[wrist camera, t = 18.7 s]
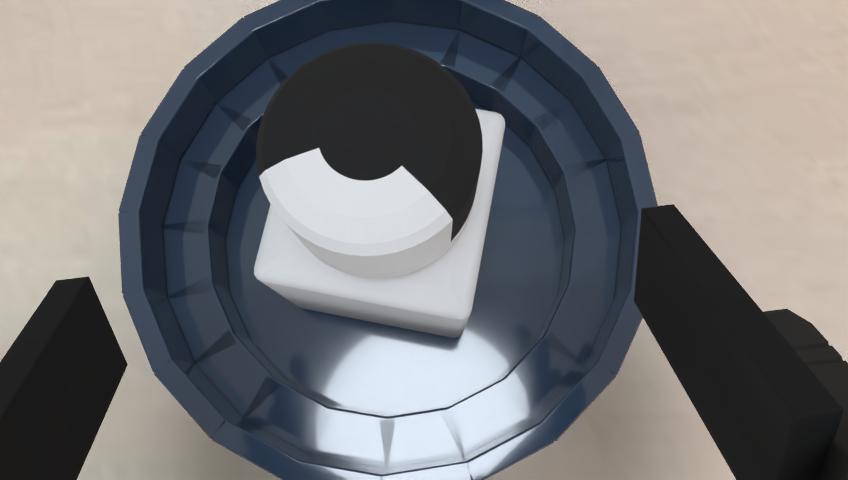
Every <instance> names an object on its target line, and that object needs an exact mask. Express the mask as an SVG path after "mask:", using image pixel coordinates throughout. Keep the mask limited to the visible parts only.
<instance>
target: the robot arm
mask: <svg viewBox="0 0 848 480" xmlns="http://www.w3.org/2000/svg"><path fill="white" fill-rule="evenodd" d="M634 302H635V304H636V306H637V307H638V309H639V311H640V313H641V314H642V316H643V318H644V320H645V321H646V323H647V325H648V327H649V328H650V330H651V332H652V334H653V335H654V337H655V339H656V340H657V342H658V344H659V346H660V347H661V349H662V351H663V353H664V354H665V356H666V358H667V360H668V361H669V363H670V365H671V367H672V368H673V370H674V372H675V374H676V375H677V377H678V379H679V381H680V382H681V384H682V386H683V388H684V389H685V391H686V393H687V394H688V396H689V398H690V400H691V401H692V403H693V405H694V407H695V408H696V410H697V412H698V414H699V415H700V417H701V419H702V421H703V422H704V424H705V426H706V428H707V429H708V431H709V433H710V435H711V436H712V438H713V440H714V442H715V443H716V445H717V447H718V448H719V450H720V452H721V454H722V455H723V457H724V459H725V461H726V462H727V464H728V466H729V468H730V469H731V471H732V473H733V475H734V476H735V478H736V480H848V363H847V362H846V361H843V360H842V356H841V355H840V354H839V353H838V352H837V351H836V350H835V349H834V348H833V347H832V346H829V344H828V341H827V340H826V339H825V338H824V337H823V336H822V334H821V333H820V332H819V331H818V330H817V329H816V328H815V327H814V326H813V325H812V324H811V323H810V322H808V321H806V320H805V319H803V318H801V317H800V316H798V315H796V314H795V313H793V312H791V311H790V310H788V309H782V310H774V311H766V312H762V311H761V309H760V308H759V307H758V306H757V304H756V303H755V302H754V301H753V300H752V298H751V297H750V296H749V295H748V294H747V292H746V291H745V290H744V289H743V288H742V286H741V285H740V284H739V283H738V282H737V280H736V279H735V278H734V277H733V276H732V274H731V273H730V272H729V271H728V270H727V268H726V267H725V266H724V265H723V263H722V262H721V261H720V260H719V259H718V257H717V256H716V255H715V254H714V253H713V251H712V250H711V249H710V248H709V247H708V245H707V244H706V243H705V242H704V241H703V239H702V238H701V237H700V236H699V235H698V233H697V232H696V231H695V230H694V228H693V227H692V226H691V225H690V224H689V222H688V221H687V220H686V219H685V218H684V216H683V215H682V214H681V213H680V212H679V210H678V209H677V208H676V207H675V206H674V204H673V205H665V206H657V207H649V208H642V211H641V223H640V235H639V246H638V258H637V270H636V282H635V294H634ZM126 367H127V362H126V360H125V358H124V355H123V353H122V351H121V349H120V346H119V344H118V342H117V340H116V337H115V335H114V333H113V330H112V328H111V326H110V324H109V321H108V319H107V317H106V315H105V312H104V310H103V308H102V305H101V303H100V301H99V299H98V296H97V294H96V292H95V290H94V287H93V285H92V283H91V280H90V278H89V277H82V278H74V279H66V280H58V281H56V282H55V283H54V285H53V286H52V287H51V289H50V290H49V292H48V293H47V295H46V296H45V298H44V299H43V301H42V302H41V304H40V305H39V306H38V308H37V309H36V311H35V312H34V314H33V315H32V317H31V318H30V320H29V321H28V323H27V324H26V325H25V327H24V328H23V330H22V331H21V333H20V334H19V336H18V337H17V339H16V340H15V342H14V343H13V344H12V346H11V347H10V349H9V350H8V352H7V353H6V355H5V356H4V358H3V359H2V360H1V362H0V480H77V477H78V475H79V473H80V471H81V468H82V466H83V464H84V462H85V459H86V457H87V455H88V453H89V450H90V448H91V446H92V444H93V441H94V439H95V437H96V435H97V432H98V430H99V428H100V426H101V423H102V421H103V419H104V417H105V414H106V412H107V410H108V408H109V405H110V403H111V401H112V398H113V396H114V394H115V392H116V389H117V387H118V385H119V383H120V380H121V378H122V376H123V374H124V371H125V369H126Z"/></svg>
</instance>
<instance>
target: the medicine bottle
mask: <svg viewBox="0 0 848 480" xmlns="http://www.w3.org/2000/svg"><path fill="white" fill-rule="evenodd" d="M504 130H505V120H504V118H503V116H502V115H501V114H499V113H497V112H491V111H485V110H480V109H475V107H474V105H473V103H472V101H471V99H470V97H469V95H468V93H467V92H466V91H465V89H464V88H463V86H462V85H461V84H460V82H459V81H458V80H457V79H456V78H455V77H454V76H453V75H452V74H451V73H450V72H449V71H448V70H447V69H446V68H444V67H443V66H442V65H440V64H439V63H438V62H436V61H435V60H433V59H431V58H430V57H428V56H426V55H424V54H422V53H420V52H417V51H415V50H412V49H410V48H406V47H402V46H399V45H394V44H386V43H358V44H350V45H346V46H342V47H338V48H335V49H332V50H330V51H327V52H324V53H322V54H320V55H318V56H316V57H314V58H313V59H311V60H309V61H307V62H306V63H305V64H303V65H302V66H300V67H299V68H298V69H296V70H295V71H294V72H293V73H292V74H291V75H290V76H289V77H288V78H287V79H286V80H285V81H284V82H283V83H282V84H281V86H280V87H279V88H278V89H277V90H276V92H275V93H274V95H273V97H272V98H271V100H270V102H269V103H268V105H267V107H266V110H265V112H264V114H263V117H262V119H261V123H260V127H259V130H258V136H257V144H256V161H257V168H258V173H259V178H260V181H261V184H262V187H263V190H264V192H265V194H266V196H267V198H268V200H269V202H270V208H269V212H268V216H267V220H266V223H265V227H264V231H263V235H262V239H261V243H260V247H259V250H258V254H257V258H256V262H255V266H254V275H255V276H256V278H257V279H258V280H259V281H261V282H262V283H264V284H265V285H267V286H268V287H270V288H271V289H273V290H274V291H276V292H277V293H279V294H280V295H282V296H283V297H284V298H286V299H287V300H289V301H290V302H292V303H293V304H295V305H296V306H298V307H300V308H303V309H308V310H313V311H318V312H323V313H328V314H333V315H339V316H344V317H349V318H354V319H359V320H364V321H369V322H374V323H379V324H384V325H389V326H394V327H400V328H405V329H410V330H415V331H420V332H425V333H430V334H435V335H440V336H445V337H450V338H458V337H460V336H461V335H462V333H463V331H464V329H465V326H466V324H467V321H468V319H469V316H470V313H471V311H472V306H473V301H474V295H475V290H476V284H477V279H478V273H479V267H480V262H481V256H482V251H483V245H484V240H485V234H486V229H487V223H488V218H489V212H490V207H491V201H492V196H493V190H494V185H495V179H496V174H497V168H498V163H499V157H500V152H501V146H502V141H503V135H504Z"/></svg>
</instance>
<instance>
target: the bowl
mask: <svg viewBox="0 0 848 480" xmlns="http://www.w3.org/2000/svg"><path fill="white" fill-rule="evenodd" d="M358 43H386V44H394V45H399V46H402V47H406V48H410V49H412V50H415V51H417V52H420V53H422V54H424V55H426V56H428V57H430V58H431V59H433V60H435V61H436V62H438V63H439V64H440V65H442V66H443V67H444V68H446V69H447V70H448V71H449V72H450V73H451V74H452V75H453V76H454V77H455V78H456V79H457V80H458V81H459V82H460V84H461V85H462V86H463V88H464V89H465V91H466V92H467V93H468V95H469V97H470V99H471V101H472V103H473V105H474V107H475V109H480V110H485V111H491V112H497V113H499V114H501V115H502V116H503V118H504V120H505V130H504V135H503V141H502V146H501V152H500V157H499V163H498V168H497V174H496V179H495V185H494V190H493V196H492V201H491V207H490V212H489V218H488V223H487V229H486V234H485V240H484V245H483V251H482V256H481V262H480V267H479V273H478V279H477V284H476V290H475V295H474V301H473V306H472V311H471V313H470V316H469V319H468V321H467V324H466V326H465V329H464V331H463V333H462V335H461V336H460V337H458V338H450V337H445V336H440V335H435V334H430V333H425V332H420V331H415V330H410V329H405V328H400V327H394V326H389V325H384V324H379V323H374V322H369V321H364V320H359V319H354V318H349V317H344V316H339V315H333V314H328V313H323V312H318V311H313V310H308V309H303V308H300V307H298V306H296V305H295V304H293V303H292V302H290V301H289V300H287V299H286V298H284V297H283V296H282V295H280V294H279V293H277V292H276V291H274V290H273V289H271V288H270V287H268V286H267V285H265V284H264V283H262V282H261V281H259V280H258V279H257V278H256V276H255V275H254V266H255V262H256V258H257V254H258V250H259V247H260V243H261V239H262V235H263V231H264V227H265V223H266V220H267V216H268V212H269V208H270V202H269V200H268V198H267V196H266V194H265V192H264V190H263V187H262V184H261V181H260V178H259V173H258V168H257V161H256V144H257V136H258V130H259V127H260V123H261V119H262V117H263V114H264V112H265V110H266V107H267V105H268V103H269V102H270V100H271V98H272V97H273V95H274V93H275V92H276V90H277V89H278V88H279V87H280V86H281V84H282V83H283V82H284V81H285V80H286V79H287V78H288V77H289V76H290V75H291V74H292V73H293V72H294V71H295V70H296V69H298V68H299V67H300V66H302V65H303V64H305V63H306V62H307V61H309V60H311V59H313V58H314V57H316V56H318V55H320V54H322V53H324V52H327V51H330V50H332V49H335V48H338V47H342V46H346V45H350V44H358ZM657 206H658V205H657V201H656V197H655V193H654V189H653V185H652V181H651V177H650V173H649V169H648V164H647V160H646V156H645V152H644V148H643V144H642V140H641V136H640V134H639V131H638V129H637V127H636V126H635V124H634V123H633V121H632V119H631V118H630V116H629V115H628V113H627V111H626V110H625V108H624V107H623V105H622V103H621V102H620V100H619V99H618V97H617V95H616V94H615V92H614V91H613V89H612V87H611V86H610V84H609V83H608V81H607V79H606V78H605V76H604V75H603V73H602V71H601V70H600V68H599V67H597V65H596V64H595V63H594V62H593V61H591V60H590V59H589V58H588V57H587V56H586V55H584V54H583V53H582V52H581V51H580V50H579V49H577V48H576V47H575V46H574V45H573V44H572V43H570V42H569V41H568V40H567V39H566V38H565V37H563V36H562V35H561V34H560V33H559V32H558V31H556V30H555V29H554V28H553V27H552V26H551V25H549V24H548V23H547V22H546V21H545V20H544V19H542V18H541V17H540V16H537V15H536V14H534V13H532V12H530V11H527V10H525V9H523V8H520V7H518V6H516V5H514V4H511V3H509V2H507V1H505V0H280V1H278V2H275V3H273V4H271V5H269V6H266V7H264V8H262V9H260V10H257V11H255V12H253V13H251V14H249V15H246V16H244V18H241V19H240V20H239V21H238V22H237V23H236V24H234V25H233V26H232V27H231V28H230V29H228V30H227V31H226V32H225V33H224V34H223V35H221V36H220V37H219V38H218V39H217V40H215V41H214V42H213V43H212V44H211V45H210V46H208V47H207V48H206V49H205V50H204V51H202V52H201V53H200V54H199V55H198V56H197V57H195V58H194V59H193V60H192V61H191V62H189V63H188V64H187V65H186V66H185V67H184V69H183V70H182V71H181V73H180V74H179V76H178V77H177V79H176V80H175V82H174V83H173V85H172V86H171V88H170V89H169V91H168V93H167V94H166V96H165V97H164V99H163V100H162V102H161V103H160V105H159V106H158V108H157V109H156V111H155V113H154V114H153V116H152V117H151V119H150V120H149V122H148V123H147V125H146V126H145V128H144V129H143V131H142V133H141V135H140V137H139V140H138V144H137V147H136V151H135V154H134V158H133V162H132V165H131V169H130V172H129V176H128V180H127V183H126V187H125V190H124V194H123V198H122V201H121V205H120V208H119V212H120V213H119V235H120V257H121V278H122V293H123V294H124V295H123V298H124V300H125V303H126V305H127V308H128V310H129V313H130V315H131V318H132V320H133V323H134V325H135V328H136V330H137V333H138V335H139V338H140V340H141V343H142V345H143V348H144V350H145V353H146V355H147V358H148V360H149V363H150V365H151V368H152V370H153V372H154V374H155V376H156V377H157V378H158V379H159V380H160V382H161V383H162V384H163V385H164V386H165V387H166V388H167V390H168V391H169V392H170V393H171V394H172V395H173V396H174V398H175V399H176V400H177V401H178V402H179V403H180V404H181V406H182V407H183V408H184V409H185V410H186V411H187V412H188V414H189V415H190V416H191V417H192V418H193V419H194V420H195V422H196V423H197V424H198V425H199V426H200V427H201V429H202V430H203V431H204V432H205V433H206V434H207V435H208V437H209V438H210V439H212V440H213V441H214V442H216V443H218V444H220V445H221V446H223V447H225V448H227V449H229V450H230V451H232V452H234V453H236V454H237V455H239V456H241V457H243V458H244V459H246V460H248V461H250V462H252V463H253V464H255V465H257V466H259V467H260V468H262V469H264V470H266V471H268V472H269V473H271V474H273V475H275V476H276V477H278V478H280V479H282V480H485V479H487V478H489V477H491V476H492V475H494V474H496V473H498V472H500V471H502V470H504V469H506V468H507V467H509V466H511V465H513V464H515V463H517V462H519V461H521V460H522V459H524V458H526V457H528V456H530V455H532V454H534V453H535V452H537V451H539V450H541V449H543V448H545V447H547V446H549V445H550V444H552V443H554V441H557V440H558V439H559V438H560V436H561V435H562V434H563V433H564V432H565V431H566V430H567V429H568V428H569V427H570V426H571V425H572V424H573V422H574V421H575V420H576V419H577V418H578V417H579V416H580V415H581V414H582V413H583V412H584V411H585V410H586V408H587V407H588V406H589V405H590V404H591V403H592V402H593V401H594V400H595V399H596V398H597V397H598V396H599V394H600V393H601V392H602V391H603V390H604V389H605V388H606V387H607V386H608V385H609V384H610V383H611V382H612V381H613V379H614V378H615V377H616V375H617V374H618V372H619V370H620V368H621V365H622V363H623V361H624V359H625V356H626V354H627V352H628V350H629V347H630V345H631V343H632V341H633V338H634V336H635V334H636V332H637V329H638V327H639V325H640V322H641V320H642V318H643V316H642V314H641V313H640V311H639V309H638V307H637V306H636V304H635V302H634V294H635V282H636V270H637V258H638V246H639V235H640V223H641V211H642V208H649V207H657Z"/></svg>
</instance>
